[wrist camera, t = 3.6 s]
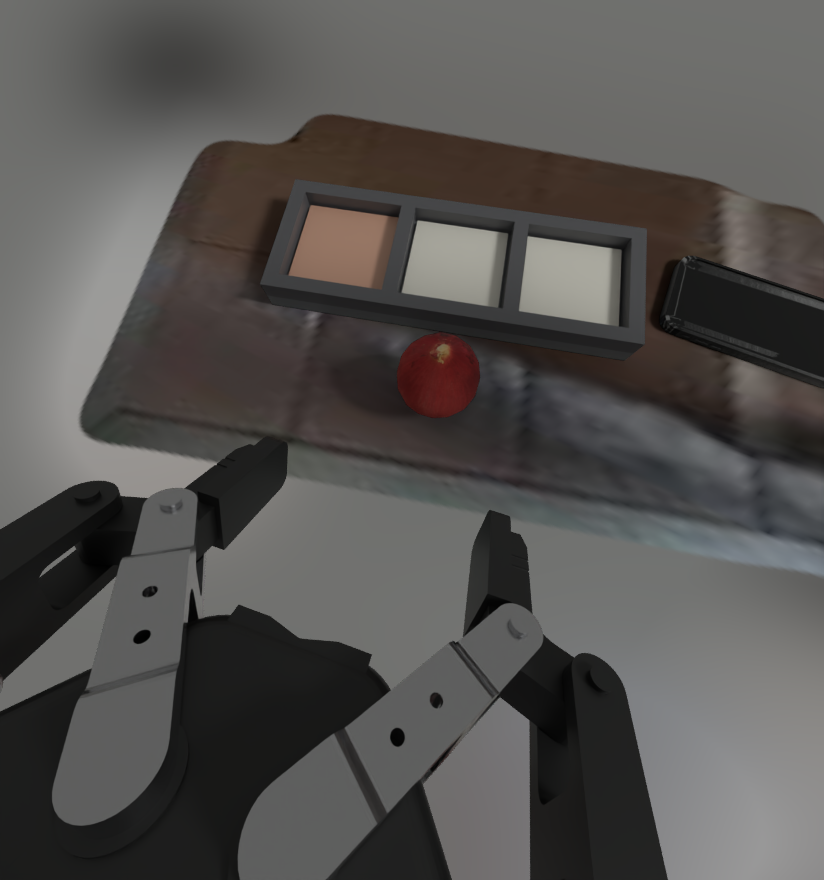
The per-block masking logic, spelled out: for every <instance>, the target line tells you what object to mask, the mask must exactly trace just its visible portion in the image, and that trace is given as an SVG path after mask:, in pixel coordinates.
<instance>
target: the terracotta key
mask: <svg viewBox="0 0 824 880" xmlns="http://www.w3.org/2000/svg"><path fill="white" fill-rule="evenodd" d="M398 219H399V218H397V217H391V216H384V215H377V214H370V213H363V212H356V211H349V210H342V209H335V208H328V207H321V206H314V205H311V206H310V209H309V212H308V215H307V218H306V222H305V225H304V228H303V231H302V234H301V237H300V240H299V243H298V247H297V250H296V253H295V256H294V259H293V262H292V265H291V269H290V272H289V275H290V276H296V277H302V278H309V279H315V280H322V281H328V282H335V283H341V284H348V285H354V286H361V287H367V288H374V289H380V290H382V286H383V282H384V278H385V273H386V269H387V265H388V261H389V257H390V252H391V248H392V244H393V240H394V235H395V231H396V227H397V223H398Z"/></svg>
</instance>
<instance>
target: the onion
mask: <svg viewBox="0 0 824 880" xmlns="http://www.w3.org/2000/svg"><path fill="white" fill-rule="evenodd" d="M479 380H480V372H479V362H478V360H477V358H476V356H475V354H474V352H473V350H472V348H471V347H470V346H469V345H468V344H467V343H465V342H464V341H463V340H461V339H460V338H459V337H457V336H455V335H451V334H447V333H443V332H439V333H435V334H430V335H425V336H423V337H421V338H420V339H418V340H416V341H414V342H413V343H411V344H410V346H409V347H408V348H407V349H406V350H405V352H404V353H403V354H402V356H401V359H400V363H399V366H398V370H397V382H398V390H399V392H400V393H401V395H402V397H403V399H404V401H405V403H406V405H407V406H409V407H410V408H411V409H413V410H414V411H415V412H417V413H418V414H421V415H424V416H428V417H431V418H442V417H449V416H451V415H453V414H456V413H458V412H460V411H462V410H463V409H465V408H466V407H467V405H468V404H469V403H470V402H471V400H472V399H473V398H474V397H475V394H476V391H477V387H478V384H479Z"/></svg>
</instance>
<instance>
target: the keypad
mask: <svg viewBox="0 0 824 880" xmlns="http://www.w3.org/2000/svg"><path fill="white" fill-rule="evenodd" d="M311 205H314V206H321V207H328V208H335V209H342V210H349V211H356V212H363V213H370V214H377V215H384V216H391V217H397V218H399V219H398V223H397V227H396V231H395V235H394V240H393V244H392V248H391V252H390V257H389V261H388V265H387V269H386V273H385V278H384V282H383V286H382V290H380V289H374V288H367V287H361V286H354V285H348V284H341V283H335V282H328V281H322V280H315V279H309V278H302V277H296V276H290V275H289V272H290V269H291V265H292V262H293V259H294V256H295V253H296V250H297V247H298V243H299V240H300V237H301V234H302V231H303V228H304V225H305V222H306V218H307V215H308V212H309V209H310V206H311ZM646 242H647V229H645V228H638V227H631V226H624V225H617V224H610V223H603V222H595V221H588V220H581V219H574V218H567V217H560V216H553V215H546V214H539V213H531V212H524V211H517V210H510V209H503V208H496V207H489V206H482V205H474V204H467V203H460V202H453V201H446V200H439V199H432V198H425V197H418V196H410V195H403V194H396V193H389V192H382V191H375V190H368V189H361V188H354V187H346V186H339V185H332V184H325V183H318V182H311V181H304V180H297V179H296V180H295V183H294V186H293V189H292V191H291V194H290V197H289V200H288V203H287V206H286V209H285V212H284V215H283V218H282V221H281V224H280V227H279V230H278V233H277V236H276V238H275V241H274V244H273V247H272V250H271V253H270V256H269V259H268V262H267V265H266V268H265V271H264V274H263V277H262V280H261V283H260V285H261V287H262V288H263V290H264V291H265V293H266V294H267V296H268V298H269V299H270V301H271V302H272V304H273V305H279V306H285V307H292V308H298V309H304V310H311V311H317V312H323V313H329V314H336V315H342V316H348V317H354V318H361V319H367V320H373V321H379V322H386V323H392V324H398V325H405V326H411V327H417V328H423V329H430V330H436V331H442V332H448V333H455V334H461V335H467V336H474V337H480V338H486V339H492V340H499V341H505V342H511V343H517V344H524V345H530V346H536V347H542V348H549V349H555V350H561V351H568V352H574V353H580V354H586V355H593V356H599V357H605V358H611V359H618V360H626V359H627V358H628V357H629V356H631V355H632V354H633V353H634V352H636V351H637V350H638V349H640V348H641V347H642V346H643V345H645V298H646Z"/></svg>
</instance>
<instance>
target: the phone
mask: <svg viewBox="0 0 824 880" xmlns="http://www.w3.org/2000/svg"><path fill="white" fill-rule="evenodd" d="M659 322H660V326H661V327H662V329H663V330H665V331H666V332H668V333H670V334H672V335H675V336H678V337H681V338H683V339H686V340H689V341H692V342H695V343H697V344H700V345H703V346H706V347H709V348H711V349H714V350H717V351H720V352H723V353H725V354H728V355H731V356H734V357H737V358H740V359H742V360H745V361H748V362H751V363H754V364H756V365H759V366H762V367H765V368H768V369H770V370H773V371H776V372H779V373H782V374H784V375H787V376H790V377H793V378H796V379H798V380H801V381H804V382H807V383H810V384H812V385H815V386H818V387H821V388H824V299H823V298H820V297H817V296H814V295H811V294H808V293H805V292H802V291H799V290H796V289H793V288H790V287H787V286H784V285H781V284H778V283H775V282H772V281H769V280H766V279H763V278H760V277H757V276H754V275H751V274H747V273H744V272H741V271H738V270H735V269H732V268H729V267H726V266H723V265H720V264H717V263H714V262H711V261H708V260H705V259H702V258H699V257H696V256H687V257H684V258H683V259H682V260H681V261H680V262H679V263H678V264H677V265H676V266H675V268H674V270H673V274H672V277H671V281H670V284H669V287H668V291H667V294H666V298H665V301H664V304H663V308H662V311H661V315H660V318H659Z"/></svg>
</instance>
